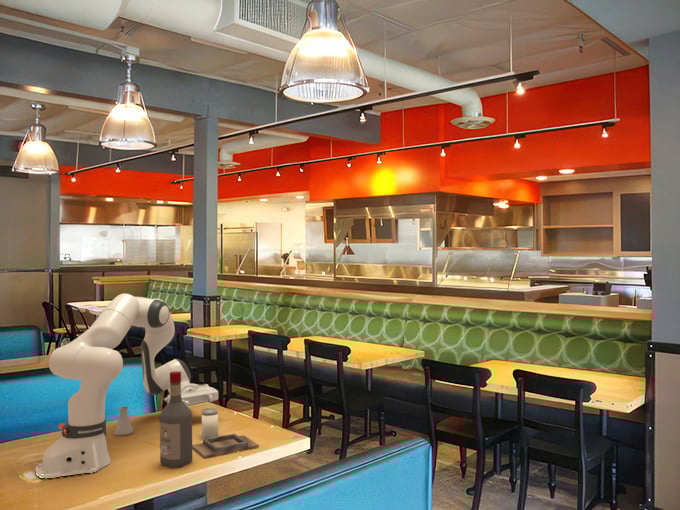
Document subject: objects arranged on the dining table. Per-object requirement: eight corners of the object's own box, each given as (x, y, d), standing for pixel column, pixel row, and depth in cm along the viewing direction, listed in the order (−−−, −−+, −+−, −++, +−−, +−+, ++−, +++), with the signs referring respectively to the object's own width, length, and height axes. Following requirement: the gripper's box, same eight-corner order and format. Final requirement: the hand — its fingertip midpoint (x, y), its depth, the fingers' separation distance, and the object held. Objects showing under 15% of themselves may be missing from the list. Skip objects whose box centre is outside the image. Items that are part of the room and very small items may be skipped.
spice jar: (205, 440, 222) (204, 413, 222) (199, 436, 227) (199, 409, 227) (220, 437, 225) (220, 410, 225) (214, 433, 230) (214, 407, 230)
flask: (137, 430, 235) (136, 405, 235) (128, 436, 228) (128, 410, 227) (119, 430, 236) (118, 404, 235) (110, 436, 228) (109, 409, 228)
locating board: (204, 458, 203) (204, 451, 203) (191, 448, 214) (191, 441, 214) (258, 447, 213) (258, 440, 213) (243, 437, 224) (243, 431, 224)
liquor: (176, 469, 193) (174, 376, 192) (156, 464, 198) (154, 373, 197) (196, 461, 201) (195, 371, 200) (177, 456, 205) (175, 368, 205)
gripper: (162, 390, 243) (172, 398, 231) (211, 383, 254) (223, 390, 242) (162, 406, 243) (173, 414, 231) (211, 398, 254) (223, 405, 242)
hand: (199, 402), depth 237 cm, fingers open, 8 cm apart
